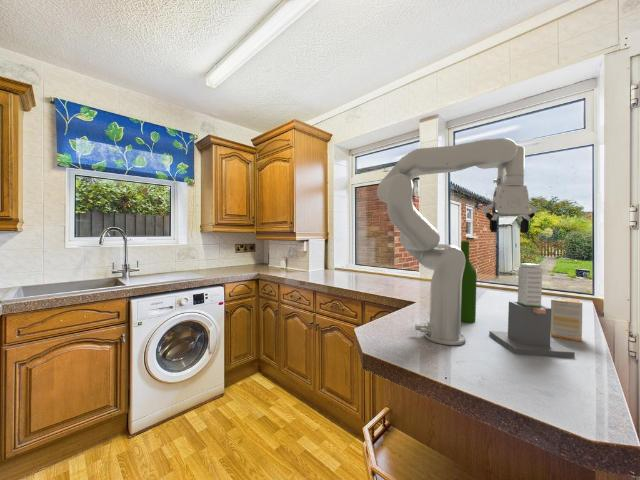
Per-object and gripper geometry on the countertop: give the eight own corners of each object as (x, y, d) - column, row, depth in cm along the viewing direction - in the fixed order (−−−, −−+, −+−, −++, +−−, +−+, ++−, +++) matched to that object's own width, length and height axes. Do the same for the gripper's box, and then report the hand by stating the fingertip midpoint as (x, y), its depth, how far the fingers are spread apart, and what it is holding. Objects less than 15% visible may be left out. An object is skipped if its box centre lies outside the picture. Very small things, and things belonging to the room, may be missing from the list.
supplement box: (581, 338, 98) (582, 300, 98) (581, 342, 95) (583, 303, 94) (550, 332, 104) (551, 296, 103) (549, 336, 100) (550, 299, 100)
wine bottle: (479, 321, 117) (482, 241, 116) (467, 324, 112) (469, 241, 111) (459, 315, 124) (461, 241, 124) (446, 318, 120) (448, 241, 119)
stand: (515, 354, 84) (516, 310, 84) (489, 335, 100) (490, 298, 100) (574, 357, 82) (576, 312, 82) (538, 337, 98) (539, 300, 98)
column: (524, 326, 89) (526, 264, 88) (515, 321, 94) (516, 263, 94) (542, 327, 88) (544, 265, 88) (532, 322, 93) (533, 263, 93)
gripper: (488, 180, 95) (486, 231, 96) (544, 180, 93) (543, 232, 93) (478, 184, 103) (477, 232, 103) (531, 184, 100) (529, 233, 101)
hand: (508, 232), depth 98 cm, fingers open, 9 cm apart
